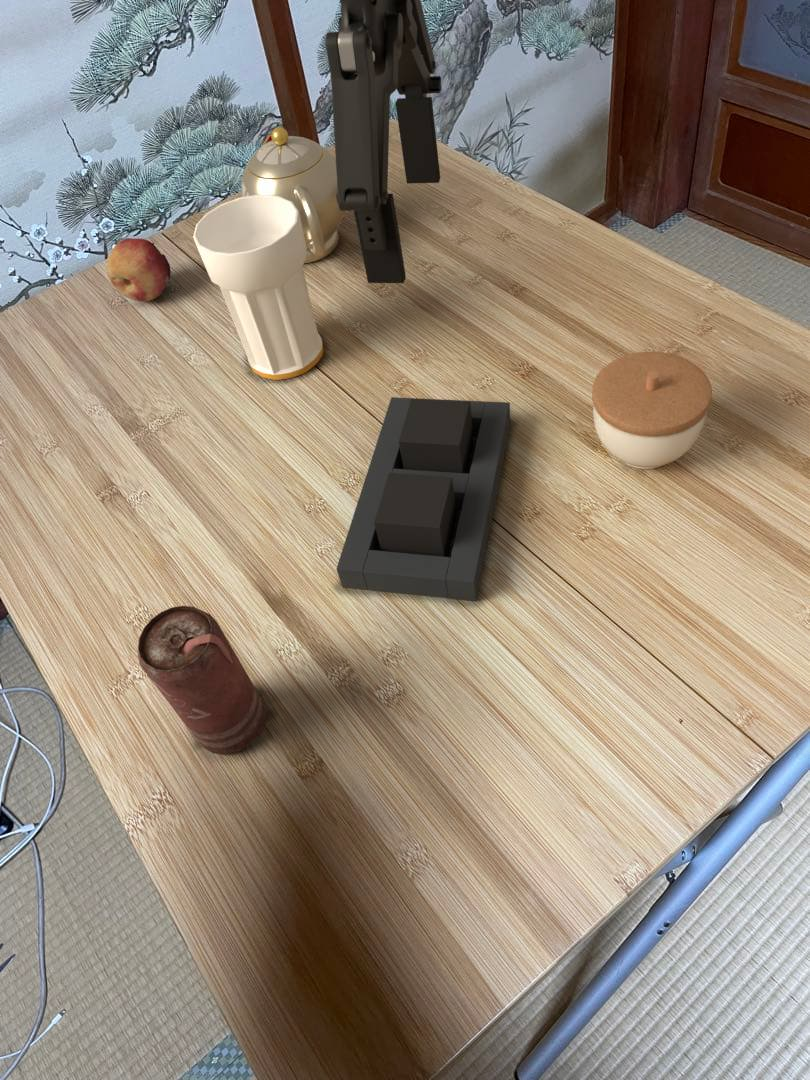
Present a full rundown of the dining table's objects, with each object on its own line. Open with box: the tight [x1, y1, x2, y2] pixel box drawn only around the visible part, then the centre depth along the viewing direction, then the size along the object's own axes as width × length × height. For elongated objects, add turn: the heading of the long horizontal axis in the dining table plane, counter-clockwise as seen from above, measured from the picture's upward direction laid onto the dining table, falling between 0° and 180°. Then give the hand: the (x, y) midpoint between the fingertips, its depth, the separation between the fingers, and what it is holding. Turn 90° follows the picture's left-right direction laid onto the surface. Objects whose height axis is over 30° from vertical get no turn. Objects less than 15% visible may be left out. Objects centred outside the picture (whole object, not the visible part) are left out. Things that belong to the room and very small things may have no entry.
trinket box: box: [591, 351, 713, 470], centre depth 80 cm, size 11×11×9 cm
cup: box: [192, 194, 324, 381], centre depth 93 cm, size 11×11×17 cm
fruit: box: [106, 238, 172, 302], centre depth 109 cm, size 8×8×8 cm
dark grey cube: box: [374, 473, 459, 557], centre depth 77 cm, size 6×6×6 cm
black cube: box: [399, 398, 475, 474], centre depth 83 cm, size 6×6×6 cm
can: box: [137, 605, 267, 756], centre depth 65 cm, size 6×6×14 cm
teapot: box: [240, 126, 346, 264], centre depth 107 cm, size 18×14×16 cm
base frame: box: [336, 396, 512, 602], centre depth 82 cm, size 13×23×3 cm, turn 168°
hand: (406, 227), depth 65 cm, fingers open, 13 cm apart
